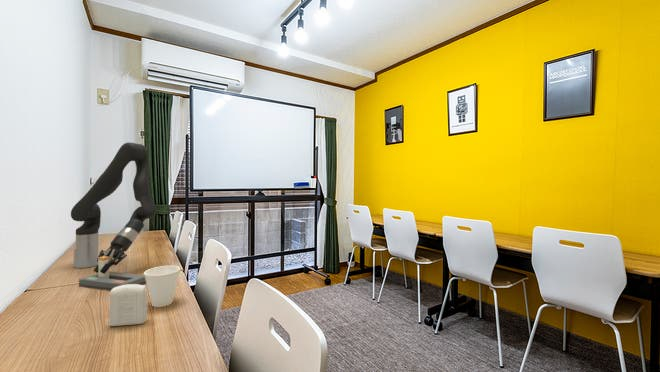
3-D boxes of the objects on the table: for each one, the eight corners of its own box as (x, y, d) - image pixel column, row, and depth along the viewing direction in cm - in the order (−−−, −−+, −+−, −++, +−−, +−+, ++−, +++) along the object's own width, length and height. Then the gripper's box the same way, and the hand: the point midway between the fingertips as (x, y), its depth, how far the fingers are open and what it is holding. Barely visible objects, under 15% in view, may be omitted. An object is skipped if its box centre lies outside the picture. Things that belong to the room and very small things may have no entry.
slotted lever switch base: (79, 286, 125) (79, 278, 124) (106, 277, 136) (106, 270, 136) (123, 292, 118) (123, 284, 118) (148, 282, 130) (148, 275, 130)
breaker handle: (98, 280, 128) (98, 257, 128) (104, 278, 130) (103, 256, 130) (103, 281, 127) (103, 258, 127) (109, 279, 130) (109, 256, 129)
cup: (160, 312, 101) (160, 276, 100) (135, 307, 104) (135, 273, 104) (187, 299, 112) (187, 267, 112) (164, 295, 116) (164, 264, 115)
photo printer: (149, 318, 96) (149, 281, 96) (144, 324, 92) (144, 285, 92) (114, 321, 94) (113, 283, 94) (107, 328, 90) (106, 288, 90)
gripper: (107, 233, 137) (80, 266, 126) (131, 235, 134) (105, 269, 122) (118, 242, 143) (93, 275, 131) (141, 244, 139) (117, 277, 128)
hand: (99, 272), depth 127 cm, fingers closed on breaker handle, 3 cm apart
